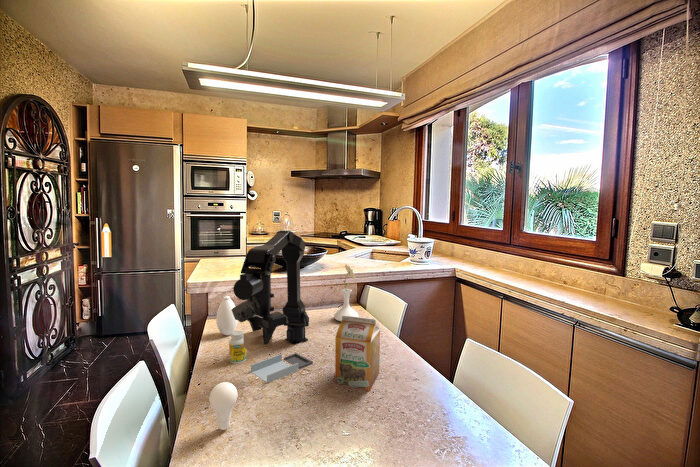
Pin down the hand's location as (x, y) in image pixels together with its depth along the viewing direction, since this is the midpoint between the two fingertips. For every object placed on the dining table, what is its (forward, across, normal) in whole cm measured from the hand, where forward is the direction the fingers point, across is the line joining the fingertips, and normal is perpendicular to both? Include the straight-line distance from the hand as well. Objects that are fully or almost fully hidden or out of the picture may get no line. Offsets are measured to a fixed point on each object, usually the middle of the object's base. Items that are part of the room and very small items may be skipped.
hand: (261, 341), depth 102 cm
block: (+1, 0, -1) cm, 2 cm away
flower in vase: (+11, -19, +55) cm, 59 cm away
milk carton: (+11, +21, +20) cm, 31 cm away
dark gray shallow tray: (+11, 0, +13) cm, 17 cm away
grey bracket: (+11, 0, +4) cm, 12 cm away
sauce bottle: (+11, -39, +8) cm, 41 cm away
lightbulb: (+11, +15, -19) cm, 27 cm away
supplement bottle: (+11, -15, 0) cm, 19 cm away
